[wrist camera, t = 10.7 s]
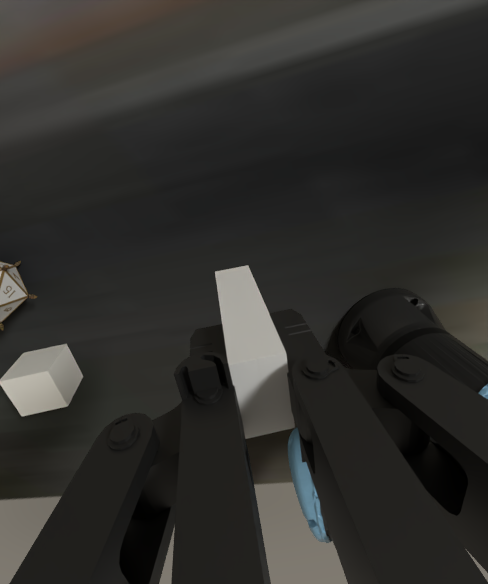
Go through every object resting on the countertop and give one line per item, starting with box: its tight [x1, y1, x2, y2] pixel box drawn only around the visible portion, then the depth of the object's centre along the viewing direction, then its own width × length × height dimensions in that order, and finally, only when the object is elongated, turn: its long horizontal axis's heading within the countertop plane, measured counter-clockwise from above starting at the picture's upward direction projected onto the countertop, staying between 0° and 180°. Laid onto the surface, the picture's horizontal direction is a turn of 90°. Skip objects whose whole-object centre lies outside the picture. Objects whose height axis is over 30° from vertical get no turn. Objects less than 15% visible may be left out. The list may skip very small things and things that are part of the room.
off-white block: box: [0, 344, 83, 416], centre depth 42 cm, size 6×6×6 cm
